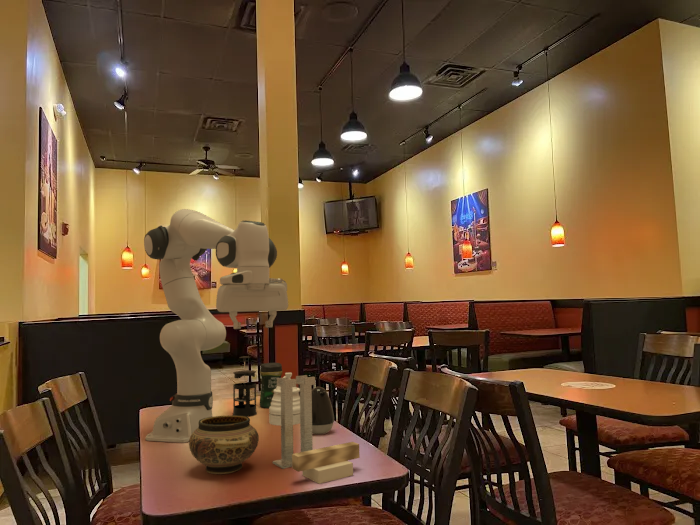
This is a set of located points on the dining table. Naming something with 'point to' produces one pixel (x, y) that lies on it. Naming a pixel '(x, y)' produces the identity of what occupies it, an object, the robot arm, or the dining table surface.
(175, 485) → the dining table surface
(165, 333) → the robot arm
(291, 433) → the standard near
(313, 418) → the black tapered rounded piece
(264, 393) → the coffee jar
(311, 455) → the rail
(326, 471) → the beige flat block
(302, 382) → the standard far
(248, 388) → the french press
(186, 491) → the dining table surface
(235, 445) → the ceramic bowl
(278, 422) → the honey pot
